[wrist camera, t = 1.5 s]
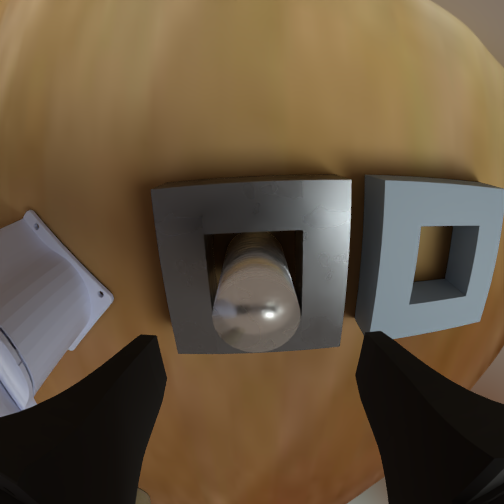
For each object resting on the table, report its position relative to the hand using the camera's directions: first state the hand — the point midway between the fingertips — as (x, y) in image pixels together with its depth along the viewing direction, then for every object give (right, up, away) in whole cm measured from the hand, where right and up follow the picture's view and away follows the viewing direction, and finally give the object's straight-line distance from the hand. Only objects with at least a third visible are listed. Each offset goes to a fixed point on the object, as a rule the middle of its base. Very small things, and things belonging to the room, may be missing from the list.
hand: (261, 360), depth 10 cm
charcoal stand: (0, +3, +9) cm, 10 cm away
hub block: (+12, +4, +9) cm, 15 cm away
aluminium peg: (0, +3, +9) cm, 10 cm away
